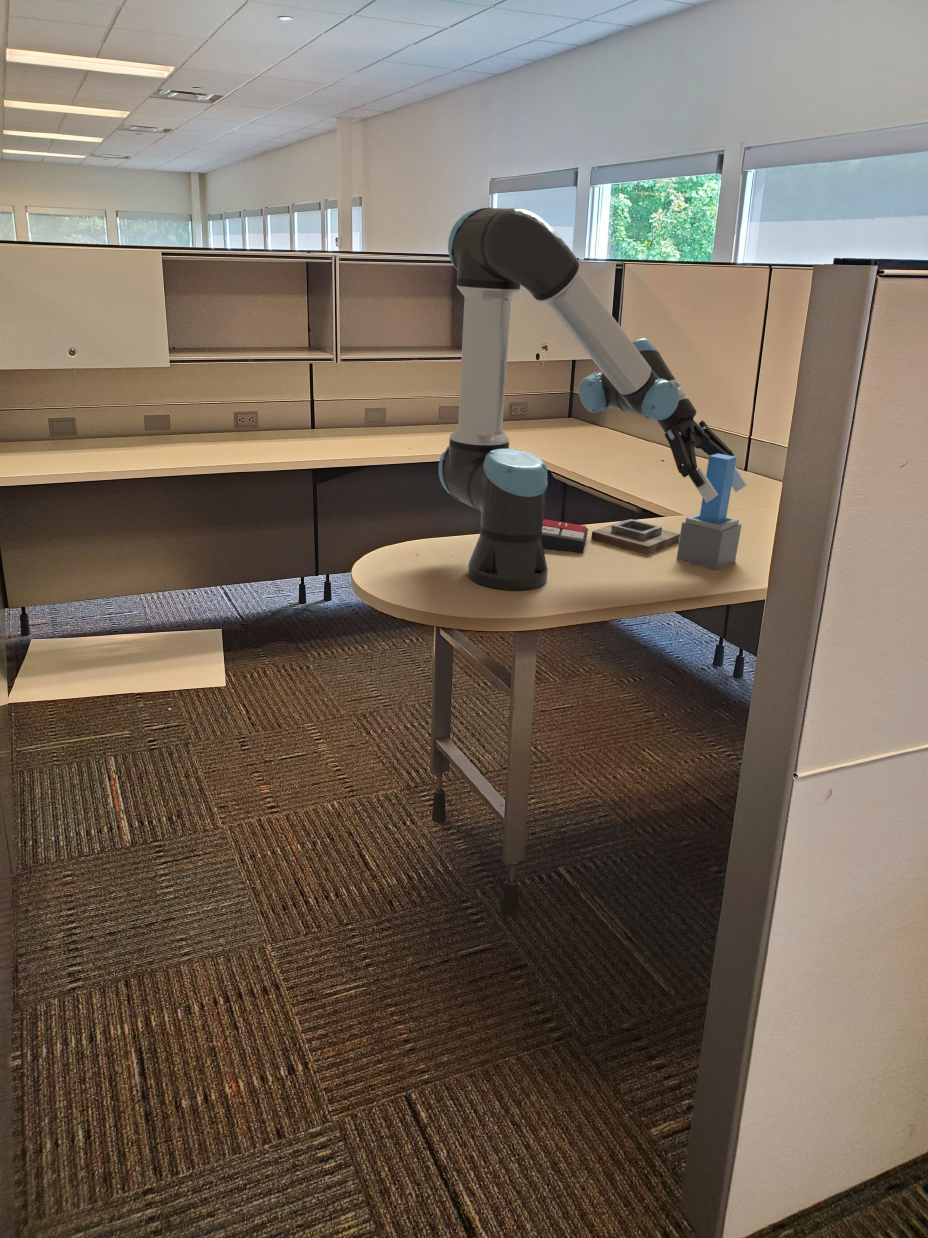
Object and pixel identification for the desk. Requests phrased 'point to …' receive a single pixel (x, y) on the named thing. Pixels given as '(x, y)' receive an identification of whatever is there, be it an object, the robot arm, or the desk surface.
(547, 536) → the black and red block
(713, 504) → the plug
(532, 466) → the robot arm
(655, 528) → the lower socket plate
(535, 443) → the desk surface
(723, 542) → the upper socket block
